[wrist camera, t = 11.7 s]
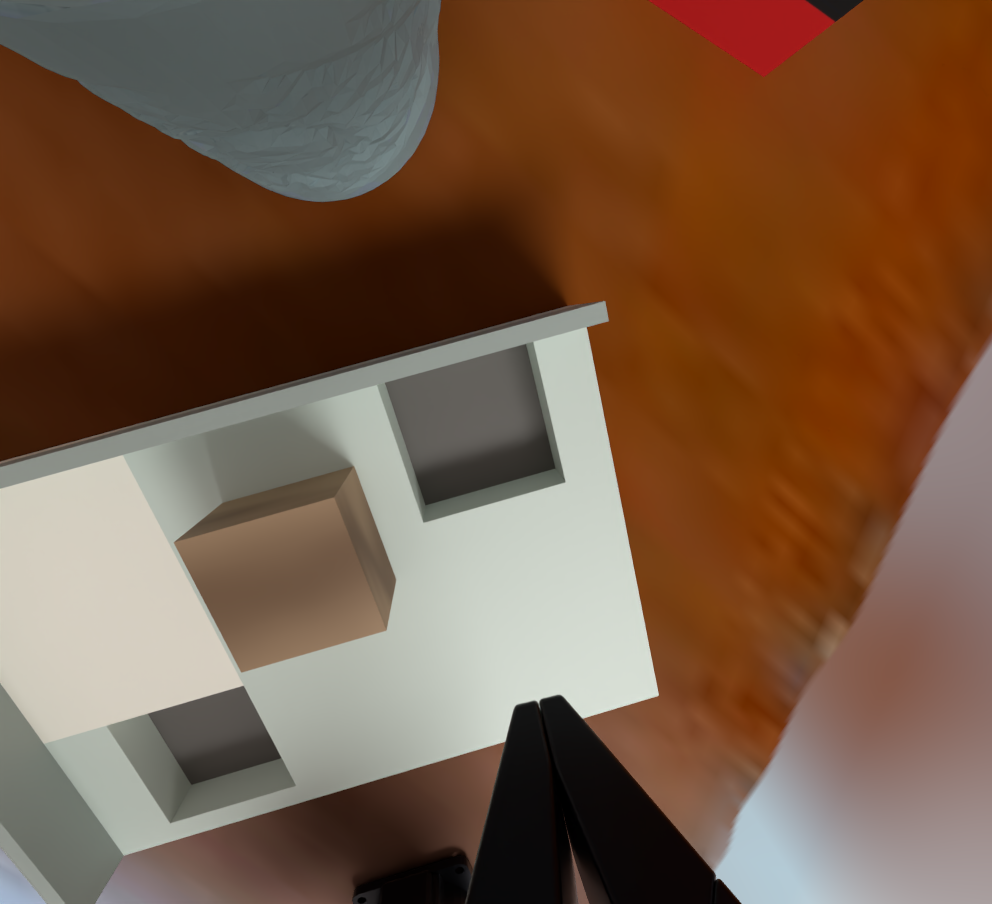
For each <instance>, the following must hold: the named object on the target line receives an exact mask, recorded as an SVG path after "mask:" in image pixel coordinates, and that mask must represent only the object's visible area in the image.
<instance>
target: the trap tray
mask: <svg viewBox="0 0 992 904" xmlns="http://www.w3.org/2000/svg"><path fill="white" fill-rule="evenodd" d="M607 321H609V320H608V314H607V309H606V303H605V301H602V302H594V303H586V304H578V305H571V306H566V307H562V308H558V309H555V310H551V311H547V312H544V313H540V314H536V315H533V316H529V317H525V318H522V319H518V320H514V321H511V322H507V323H504V324H500V325H496V326H493V327H489V328H485V329H482V330H478V331H474V332H471V333H467V334H463V335H460V336H456V337H453V338H449V339H445V340H442V341H438V342H434V343H431V344H427V345H423V346H420V347H416V348H412V349H409V350H405V351H401V352H398V353H394V354H391V355H387V356H383V357H380V358H376V359H372V360H369V361H365V362H361V363H358V364H354V365H350V366H347V367H343V368H339V369H336V370H332V371H329V372H325V373H321V374H318V375H314V376H310V377H307V378H303V379H299V380H296V381H292V382H288V383H285V384H281V385H278V386H274V387H270V388H267V389H263V390H259V391H256V392H252V393H248V394H245V395H241V396H237V397H234V398H230V399H226V400H223V401H219V402H216V403H212V404H208V405H205V406H201V407H197V408H194V409H190V410H186V411H183V412H179V413H175V414H172V415H168V416H164V417H161V418H157V419H154V420H150V421H146V422H143V423H139V424H135V425H132V426H128V427H124V428H121V429H117V430H113V431H110V432H106V433H102V434H99V435H95V436H92V437H88V438H84V439H81V440H77V441H73V442H70V443H66V444H62V445H59V446H55V447H51V448H48V449H44V450H41V451H37V452H33V453H30V454H26V455H22V456H19V457H15V458H11V459H8V460H4V461H0V847H1V849H2V850H3V851H4V852H5V854H6V855H7V856H8V857H9V858H10V860H11V861H12V862H13V863H14V864H15V866H16V867H17V868H18V869H19V871H20V872H21V873H22V874H23V875H24V877H25V878H26V879H27V880H28V881H29V883H30V884H31V885H32V886H33V888H34V889H35V890H36V891H37V892H38V894H39V895H40V896H41V897H42V898H43V900H44V901H45V902H46V903H47V904H95V902H96V901H97V899H98V898H99V896H100V894H101V893H102V891H103V889H104V888H105V886H106V884H107V883H108V881H109V879H110V878H111V876H112V874H113V873H114V871H115V869H116V868H117V866H118V864H119V863H120V861H121V859H122V858H123V856H124V855H127V854H131V853H134V852H137V851H141V850H144V849H147V848H151V847H154V846H157V845H161V844H164V843H167V842H171V841H174V840H177V839H181V838H184V837H187V836H191V835H194V834H198V833H201V832H204V831H208V830H211V829H214V828H218V827H221V826H224V825H228V824H231V823H234V822H238V821H241V820H244V819H248V818H251V817H254V816H258V815H261V814H264V813H268V812H271V811H274V810H278V809H281V808H284V807H288V806H291V805H295V804H298V803H301V802H305V801H308V800H311V799H315V798H318V797H321V796H325V795H328V794H331V793H335V792H338V791H341V790H345V789H348V788H351V787H355V786H358V785H361V784H365V783H368V782H371V781H375V780H378V779H381V778H385V777H388V776H392V775H395V774H398V773H402V772H405V771H408V770H412V769H415V768H418V767H422V766H425V765H428V764H432V763H435V762H438V761H442V760H445V759H448V758H452V757H455V756H458V755H462V754H465V753H468V752H472V751H475V750H478V749H482V748H485V747H489V746H492V745H495V744H499V743H502V742H505V741H506V737H507V733H508V729H509V725H510V721H511V717H512V713H513V709H514V707H515V706H516V705H517V704H521V703H525V702H529V701H533V700H535V701H537V702H538V704H539V701H540V700H541V699H542V698H546V697H550V696H554V695H562V696H563V697H564V698H565V699H566V700H567V701H568V702H569V703H570V705H571V706H572V707H573V708H574V709H575V710H576V712H577V713H578V714H579V715H580V716H581V717H582V718H586V717H589V716H592V715H596V714H599V713H602V712H606V711H609V710H612V709H616V708H619V707H622V706H626V705H629V704H632V703H636V702H639V701H642V700H646V699H649V698H652V697H656V696H659V694H658V689H657V684H656V679H655V674H654V669H653V663H652V658H651V653H650V648H649V643H648V638H647V633H646V628H645V623H644V618H643V612H642V607H641V602H640V597H639V592H638V587H637V582H636V577H635V572H634V567H633V561H632V556H631V551H630V546H629V541H628V536H627V531H626V526H625V521H624V516H623V510H622V505H621V500H620V495H619V490H618V485H617V480H616V475H615V470H614V465H613V459H612V454H611V449H610V444H609V439H608V434H607V429H606V424H605V419H604V414H603V408H602V403H601V398H600V393H599V388H598V383H597V378H596V373H595V368H594V363H593V357H592V352H591V347H590V342H589V337H588V332H587V327H589V326H592V325H596V324H599V323H603V322H607ZM352 466H354V467H355V470H356V472H357V475H358V478H359V480H360V483H361V486H362V489H363V491H364V494H365V497H366V499H367V502H368V505H369V507H370V510H371V513H372V515H373V518H374V521H375V524H376V526H377V529H378V532H379V534H380V537H381V540H382V542H383V545H384V548H385V550H386V553H387V556H388V559H389V561H390V564H391V567H392V569H393V572H394V575H395V577H396V585H395V590H394V595H393V600H392V605H391V610H390V615H389V621H388V626H387V631H384V632H380V633H377V634H373V635H370V636H366V637H363V638H359V639H356V640H352V641H349V642H346V643H342V644H339V645H335V646H332V647H328V648H325V649H321V650H318V651H315V652H311V653H308V654H304V655H301V656H297V657H294V658H290V659H287V660H284V661H280V662H277V663H273V664H270V665H266V666H263V667H259V668H256V669H252V670H249V671H246V672H242V673H241V671H240V669H239V667H238V666H237V664H236V662H235V660H234V658H233V656H232V654H231V652H230V650H229V648H228V646H227V644H226V642H225V641H224V639H223V637H222V635H221V633H220V631H219V629H218V627H217V625H216V623H215V621H214V619H213V618H212V616H211V614H210V612H209V610H208V608H207V606H206V604H205V602H204V600H203V598H202V596H201V594H200V593H199V591H198V589H197V587H196V585H195V583H194V581H193V579H192V577H191V575H190V573H189V571H188V570H187V568H186V566H185V564H184V562H183V560H182V558H181V556H180V554H179V552H178V550H177V548H176V546H175V545H174V542H175V541H176V540H177V539H178V538H180V537H181V536H182V535H183V534H185V533H186V532H187V531H188V530H190V529H191V528H192V527H193V526H195V525H196V524H197V523H198V522H199V521H201V520H202V519H203V518H204V517H206V516H207V515H208V514H209V513H211V512H212V511H213V510H214V509H216V508H217V507H218V506H219V505H220V504H222V503H224V502H227V501H231V500H235V499H238V498H242V497H245V496H249V495H252V494H256V493H260V492H263V491H267V490H270V489H274V488H277V487H281V486H285V485H288V484H292V483H295V482H299V481H302V480H306V479H310V478H313V477H317V476H320V475H324V474H327V473H331V472H335V471H338V470H342V469H345V468H349V467H352ZM539 707H540V706H539Z"/></svg>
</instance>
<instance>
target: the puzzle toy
mask: <svg viewBox="0 0 992 904" xmlns="http://www.w3.org/2000/svg"><path fill="white" fill-rule="evenodd" d="M649 1H650V2H652V3H653V4H655V5H656V6H658V7H659V8H661V9H662V10H664V11H665V12H667V13H668V14H670V15H671V16H673V17H674V18H676V19H677V20H679V21H680V22H682V23H683V24H685V25H686V26H688V27H689V28H691V29H692V30H694V31H695V32H697V33H698V34H700V35H701V36H703V37H704V38H706V39H707V40H709V41H710V42H712V43H713V44H715V45H716V46H718V47H719V48H721V49H722V50H724V51H725V52H727V53H728V54H730V55H731V56H733V57H734V58H736V59H737V60H739V61H740V62H742V63H743V64H745V65H746V66H748V67H749V68H751V69H752V70H754V71H755V72H757V73H758V74H760V75H762V76H763V77H764V76H766V75H767V74H768V73H770V72H771V71H772V70H774V69H775V68H776V67H777V66H779V65H780V64H781V63H783V62H784V61H785V60H787V59H788V58H789V57H790V56H792V55H793V54H794V53H796V52H797V51H798V50H800V49H801V48H802V47H803V46H805V45H806V44H807V43H809V42H810V41H811V40H812V39H814V38H815V37H816V36H818V35H819V34H820V33H822V32H823V31H824V30H825V29H827V28H828V27H829V26H831V25H832V24H833V23H835V22H836V21H837V20H838V19H840V18H841V17H842V16H844V15H845V14H846V13H848V12H849V11H850V10H851V9H853V8H854V7H855V6H857V5H858V4H859V3H861V2H862V1H863V0H649Z"/></svg>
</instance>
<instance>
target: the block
mask: <svg viewBox="0 0 992 904" xmlns="http://www.w3.org/2000/svg"><path fill="white" fill-rule="evenodd" d="M174 545H175V546H176V548H177V550H178V552H179V554H180V556H181V558H182V560H183V562H184V564H185V566H186V568H187V570H188V571H189V573H190V575H191V577H192V579H193V581H194V583H195V585H196V587H197V589H198V591H199V593H200V594H201V596H202V598H203V600H204V602H205V604H206V606H207V608H208V610H209V612H210V614H211V616H212V618H213V619H214V621H215V623H216V625H217V627H218V629H219V631H220V633H221V635H222V637H223V639H224V641H225V642H226V644H227V646H228V648H229V650H230V652H231V654H232V656H233V658H234V660H235V662H236V664H237V666H238V667H239V669H240V671H241V673H242V672H246V671H249V670H252V669H256V668H259V667H263V666H266V665H270V664H273V663H277V662H280V661H284V660H287V659H290V658H294V657H297V656H301V655H304V654H308V653H311V652H315V651H318V650H321V649H325V648H328V647H332V646H335V645H339V644H342V643H346V642H349V641H352V640H356V639H359V638H363V637H366V636H370V635H373V634H377V633H380V632H384V631H387V626H388V621H389V615H390V610H391V605H392V600H393V595H394V590H395V585H396V577H395V575H394V572H393V569H392V567H391V564H390V561H389V559H388V556H387V553H386V550H385V548H384V545H383V542H382V540H381V537H380V534H379V532H378V529H377V526H376V524H375V521H374V518H373V515H372V513H371V510H370V507H369V505H368V502H367V499H366V497H365V494H364V491H363V489H362V486H361V483H360V480H359V478H358V475H357V472H356V470H355V467H354V466H352V467H349V468H345V469H342V470H338V471H335V472H331V473H327V474H324V475H320V476H317V477H313V478H310V479H306V480H302V481H299V482H295V483H292V484H288V485H285V486H281V487H277V488H274V489H270V490H267V491H263V492H260V493H256V494H252V495H249V496H245V497H242V498H238V499H235V500H231V501H227V502H224V503H222V504H220V505H219V506H218V507H217V508H216V509H214V510H213V511H212V512H211V513H209V514H208V515H207V516H206V517H204V518H203V519H202V520H201V521H199V522H198V523H197V524H196V525H195V526H193V527H192V528H191V529H190V530H188V531H187V532H186V533H185V534H183V535H182V536H181V537H180V538H178V539H177V540H176V541H175V542H174Z"/></svg>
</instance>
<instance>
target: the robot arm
mask: <svg viewBox="0 0 992 904" xmlns="http://www.w3.org/2000/svg"><path fill="white" fill-rule="evenodd" d="M539 706H540V707H539ZM562 809H563V810H562ZM564 818H565V819H564ZM565 823H566V824H565ZM566 827H567V828H566ZM567 831H568V833H567ZM568 836H569V838H568ZM569 839H570V843H571V847H572V851H573V855H574V858H575V861H576V864H577V868H578V871H579V874H580V877H581V880H582V883H583V886H584V889H585V892H586V895H587V898H588V901H589V904H741V903H740V902H739V900H738V899H737V898H736V897H735V896H734V894H733V893H732V892H731V891H730V890H729V888H728V887H727V886H726V885H725V884H724V883H723V882H722V881H721V880H720V879H717V880H716V875H715V873H714V871H713V870H712V869H711V868H710V867H709V866H708V864H707V863H706V862H705V861H704V860H703V859H702V857H701V856H700V855H699V854H698V853H697V852H696V850H695V849H694V848H693V847H692V846H691V845H690V843H689V842H688V841H687V840H686V839H685V838H684V836H683V835H682V834H681V833H680V832H679V831H678V829H677V828H676V827H675V826H674V825H673V824H672V822H671V821H670V820H669V819H668V818H667V817H666V815H665V814H664V813H663V812H662V811H661V810H660V808H659V807H658V806H657V805H656V804H655V803H654V801H653V800H652V799H651V798H650V797H649V796H648V794H647V793H646V792H645V791H644V790H643V789H642V787H641V786H640V785H639V784H638V783H637V782H636V780H635V779H634V778H633V777H632V776H631V775H630V773H629V772H628V771H627V770H626V769H625V768H624V766H623V765H622V764H621V763H620V762H619V761H618V759H617V758H616V757H615V756H614V755H613V754H612V752H611V751H610V750H609V749H608V748H607V747H606V745H605V744H604V743H603V742H602V741H601V740H600V738H599V737H598V736H597V735H596V734H595V733H594V731H593V730H592V729H591V728H590V727H589V726H588V724H587V723H586V722H585V721H584V720H583V719H582V717H581V716H580V715H579V714H578V713H577V712H576V710H575V709H574V708H573V707H572V706H571V705H570V703H569V702H568V701H567V700H566V699H565V698H564V697H563V696H562V695H554V696H550V697H546V698H542V699H541V700H540V701H539V704H538V702H537V701H535V700H533V701H529V702H525V703H521V704H517V705H516V706H515V707H514V709H513V713H512V717H511V721H510V725H509V729H508V733H507V737H506V741H505V745H504V749H503V753H502V757H501V761H500V765H499V769H498V773H497V777H496V781H495V785H494V789H493V793H492V797H491V801H490V805H489V809H488V813H487V817H486V821H485V825H484V829H483V833H482V837H481V841H480V845H479V849H478V853H477V857H476V861H475V865H474V869H473V871H472V868H471V866H470V863H469V861H468V859H467V858H466V857H464V856H456V857H453V858H450V859H446V860H443V861H440V862H436V863H433V864H430V865H427V866H423V867H420V868H417V869H414V870H410V871H407V872H404V873H400V874H397V875H394V876H391V877H387V878H384V879H381V880H377V881H374V882H371V883H368V884H364V885H361V886H359V887H357V888H356V889H355V890H354V894H353V900H352V901H353V904H578V897H577V889H576V881H575V873H574V866H573V860H572V853H571V848H570V843H569Z"/></svg>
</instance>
